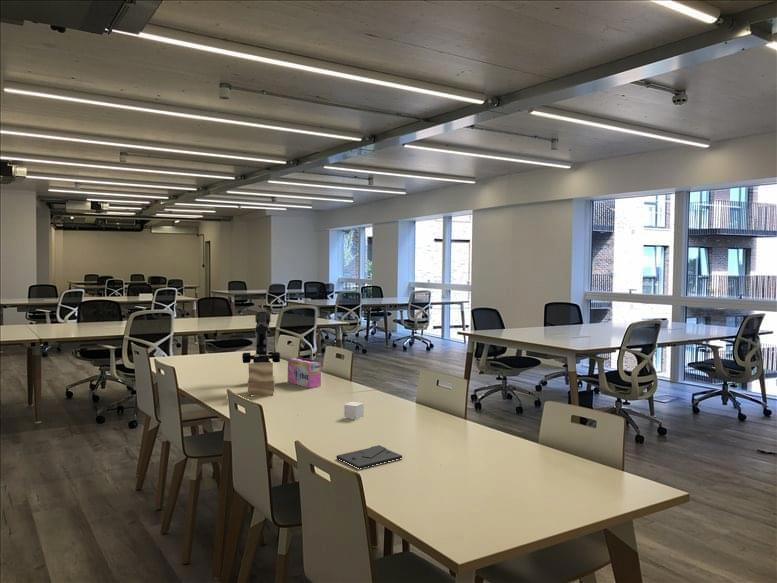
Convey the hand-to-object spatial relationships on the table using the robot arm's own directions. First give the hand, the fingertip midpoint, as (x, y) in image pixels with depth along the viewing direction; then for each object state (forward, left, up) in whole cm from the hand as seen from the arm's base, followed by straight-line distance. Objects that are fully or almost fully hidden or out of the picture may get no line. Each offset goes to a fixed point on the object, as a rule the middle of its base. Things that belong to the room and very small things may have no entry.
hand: (261, 371), depth 297 cm
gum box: (-13, +30, -12) cm, 35 cm away
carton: (-4, +2, -12) cm, 13 cm away
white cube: (+63, +16, -12) cm, 66 cm away
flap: (+4, -2, 0) cm, 4 cm away
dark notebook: (+113, -8, -13) cm, 114 cm away
